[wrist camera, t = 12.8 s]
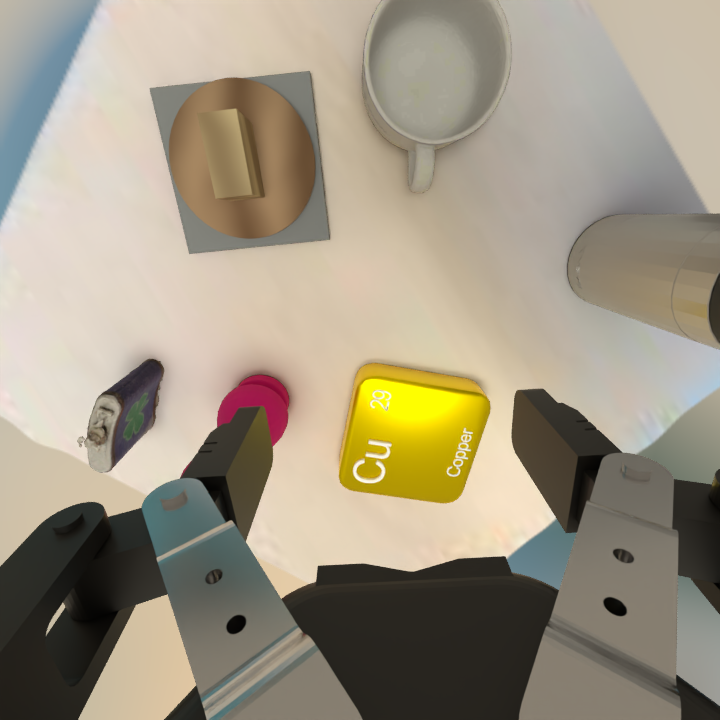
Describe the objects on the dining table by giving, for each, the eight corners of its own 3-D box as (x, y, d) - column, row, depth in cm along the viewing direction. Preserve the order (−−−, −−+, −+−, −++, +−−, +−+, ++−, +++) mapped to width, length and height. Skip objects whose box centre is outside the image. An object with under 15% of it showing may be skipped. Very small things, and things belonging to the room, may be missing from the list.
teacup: (379, 1, 33) (387, -63, 25) (498, 42, 34) (539, -7, 26) (339, 176, 37) (336, 166, 30) (445, 207, 39) (468, 205, 31)
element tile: (450, 483, 51) (459, 510, 46) (336, 467, 49) (335, 492, 45) (483, 380, 46) (498, 398, 41) (358, 358, 44) (359, 374, 40)
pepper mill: (294, 372, 44) (252, 487, 26) (292, 428, 47) (253, 569, 28) (230, 368, 44) (139, 481, 25) (232, 424, 46) (151, 564, 28)
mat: (310, 75, 34) (309, 71, 33) (329, 239, 39) (329, 239, 38) (154, 91, 35) (149, 88, 34) (193, 252, 39) (189, 253, 39)
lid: (303, 73, 34) (294, 44, 28) (324, 230, 38) (319, 232, 32) (156, 90, 34) (116, 65, 28) (193, 245, 38) (166, 250, 33)
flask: (154, 430, 47) (99, 489, 36) (129, 423, 46) (66, 480, 36) (167, 362, 44) (111, 405, 34) (140, 354, 43) (76, 395, 33)
